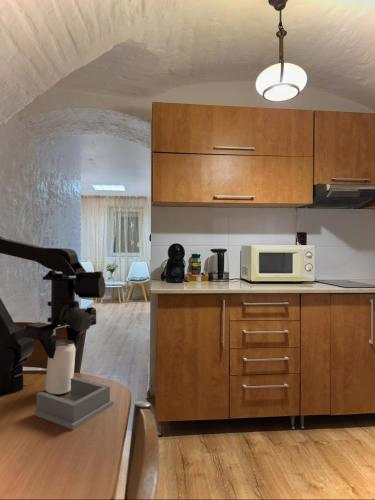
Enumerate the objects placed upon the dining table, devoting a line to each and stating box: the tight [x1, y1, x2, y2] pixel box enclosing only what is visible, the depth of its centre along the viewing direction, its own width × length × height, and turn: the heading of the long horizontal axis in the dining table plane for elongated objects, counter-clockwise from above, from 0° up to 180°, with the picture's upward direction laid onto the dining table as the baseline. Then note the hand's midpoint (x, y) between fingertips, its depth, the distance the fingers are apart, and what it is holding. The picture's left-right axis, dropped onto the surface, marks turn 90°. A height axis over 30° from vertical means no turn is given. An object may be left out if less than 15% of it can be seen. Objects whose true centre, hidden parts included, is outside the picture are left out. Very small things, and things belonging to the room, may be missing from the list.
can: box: [45, 339, 76, 396], centre depth 85 cm, size 6×6×12 cm
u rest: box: [33, 376, 114, 431], centre depth 75 cm, size 12×12×4 cm
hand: (62, 358), depth 85 cm, fingers open, 6 cm apart
